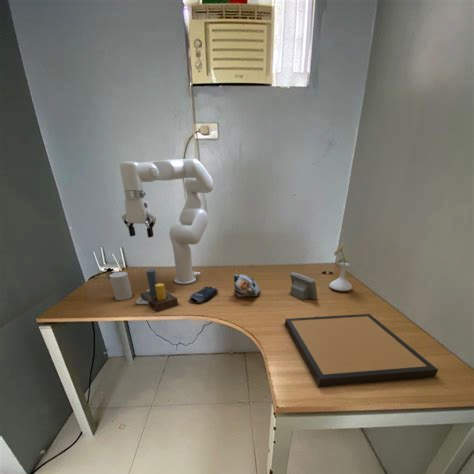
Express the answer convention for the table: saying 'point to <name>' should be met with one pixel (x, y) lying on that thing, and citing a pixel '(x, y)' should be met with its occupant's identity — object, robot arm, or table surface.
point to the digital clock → (303, 286)
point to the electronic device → (203, 294)
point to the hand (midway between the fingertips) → (141, 236)
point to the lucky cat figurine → (245, 286)
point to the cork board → (355, 351)
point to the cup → (120, 285)
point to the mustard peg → (160, 291)
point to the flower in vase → (341, 282)
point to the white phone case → (141, 301)
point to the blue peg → (152, 281)
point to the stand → (157, 304)
